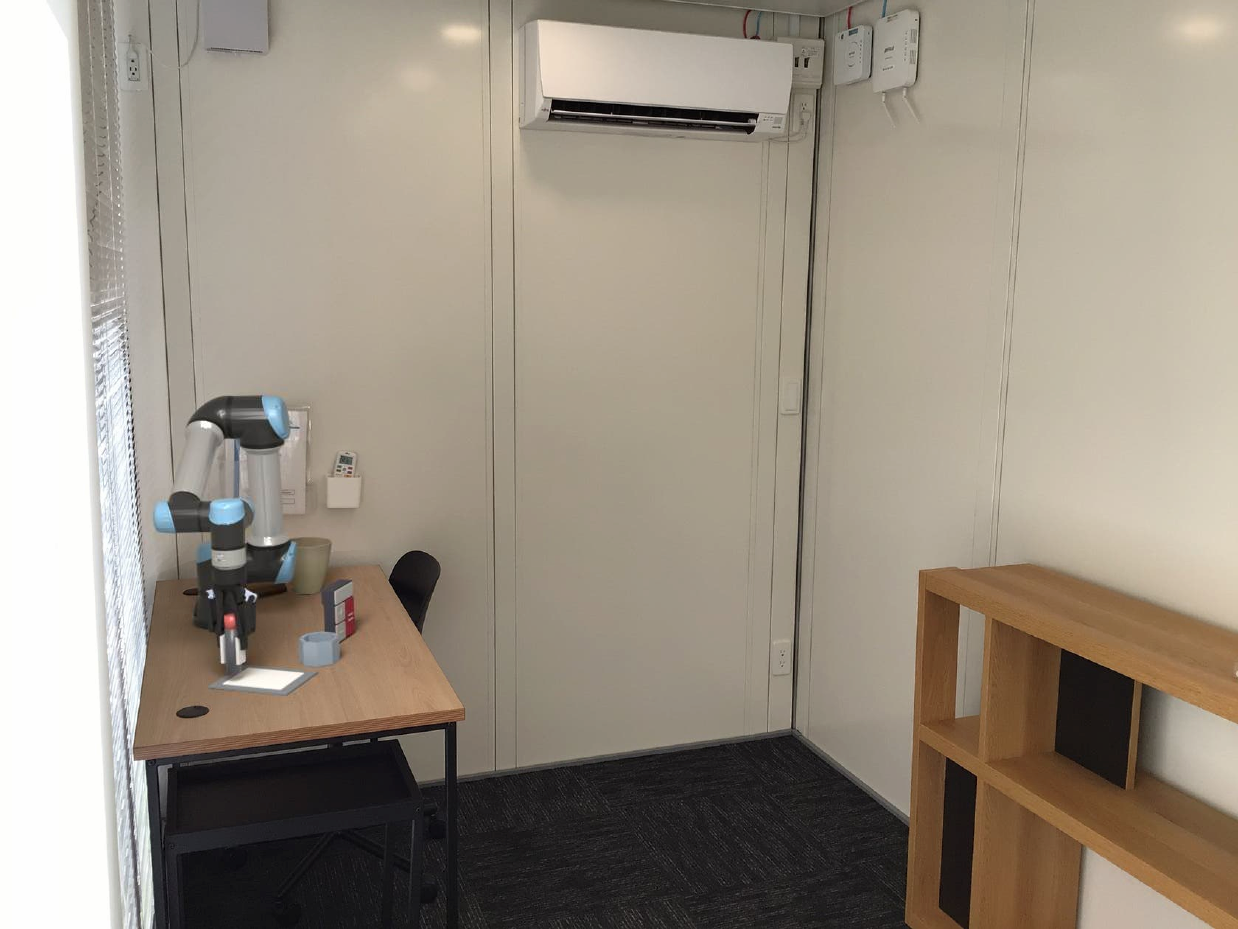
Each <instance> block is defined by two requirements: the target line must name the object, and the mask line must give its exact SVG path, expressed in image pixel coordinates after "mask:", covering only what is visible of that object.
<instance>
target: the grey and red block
mask: <svg viewBox="0 0 1238 929" xmlns="http://www.w3.org/2000/svg"><path fill="white" fill-rule="evenodd" d="M320 592H321V605H323V617H324V618H323V620H324V621H323V622H324V624H323V625H324V632H333V633H335V634H336V635H338V636H339V643H340V642H342V641H343V640H344V639H346V638H348V637H349V636H350V635H352V634H354V632H355V629H356V628H355V599H354V598H355V597H354V596H353V595H354V582H353V580H352V579H342V578H339V579H338V580H336V581H334V582H332V583H331V584H329V585H327V586H325V587H324V588H321V590H320Z"/></svg>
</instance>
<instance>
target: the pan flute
mask: <svg viewBox="0 0 1238 929" xmlns="http://www.w3.org/2000/svg"><path fill="white" fill-rule="evenodd" d="M246 585H247V587H248V591H250V592H252V593H258V594H259V597H258V599H261V597H262V598H266V597H270V596H271V595H272V596H275V594H277V595H280V594H285V593H284V592H286V593H287V592H288V587H287V585H286V583H278V584H246ZM244 598H245V600H246V596H245V597H244Z"/></svg>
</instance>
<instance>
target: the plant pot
mask: <svg viewBox="0 0 1238 929" xmlns="http://www.w3.org/2000/svg"><path fill="white" fill-rule="evenodd" d="M290 541H291V542H292V541H293V542H296V543H297V557H296V564H295V570H294V575H293V578H292V580H291V581H290V583H291V585H292V587H293V589H294V592H295V593H296V594H297V595H301V594H310V595H315V593H316V594H318V593H320V592H321V590H322V587H323V583H324V581H325V578H326V575H327V571H328V568H329V562H330V558H331V550H332V543H333V542H332V539H330V538H327V537H321V536H302V537H301V536H300V537H293V538H290ZM319 591H320V592H319ZM317 592H318V593H317Z"/></svg>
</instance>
